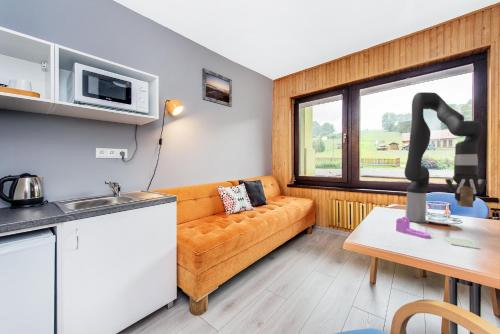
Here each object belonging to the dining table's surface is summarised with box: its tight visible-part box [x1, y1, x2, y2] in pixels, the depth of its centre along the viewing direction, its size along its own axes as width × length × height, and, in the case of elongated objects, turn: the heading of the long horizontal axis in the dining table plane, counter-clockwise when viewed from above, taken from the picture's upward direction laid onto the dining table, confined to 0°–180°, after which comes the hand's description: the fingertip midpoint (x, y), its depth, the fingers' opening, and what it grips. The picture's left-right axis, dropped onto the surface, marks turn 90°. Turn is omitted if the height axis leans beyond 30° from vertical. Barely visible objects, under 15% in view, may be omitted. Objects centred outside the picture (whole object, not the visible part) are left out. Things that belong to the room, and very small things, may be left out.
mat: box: [443, 236, 481, 250], centre depth 92 cm, size 9×10×1 cm
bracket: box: [395, 216, 431, 239], centre depth 104 cm, size 13×6×7 cm, turn 30°
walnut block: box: [456, 186, 474, 208], centre depth 96 cm, size 4×4×9 cm
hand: (464, 201), depth 96 cm, fingers closed on walnut block, 4 cm apart
